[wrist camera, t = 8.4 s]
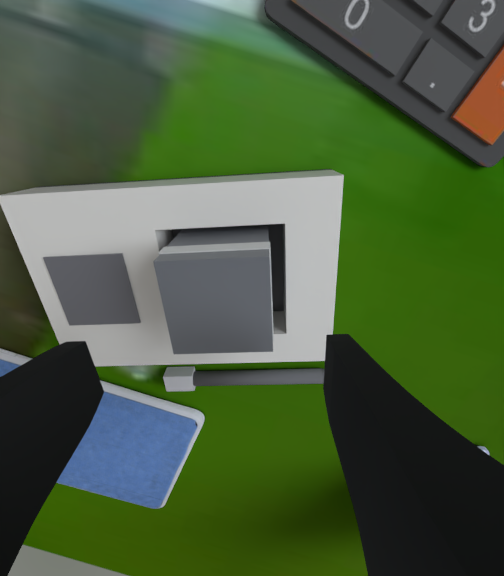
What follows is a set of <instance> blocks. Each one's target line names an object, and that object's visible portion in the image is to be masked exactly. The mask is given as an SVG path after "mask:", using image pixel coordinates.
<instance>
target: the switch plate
mask: <svg viewBox="0 0 504 576" xmlns="http://www.w3.org/2000/svg"><path fill="white" fill-rule="evenodd" d="M343 179H344V175H342V174H340V173H338V172H336V171H334V170H331V169H322V170H306V171H289V172H273V173H257V174H240V175H224V176H207V177H191V178H175V179H158V180H142V181H125V182H109V183H93V184H76V185H60V186H43V187H36V188H31V189H27V190H22V191H17V192H13V193H8V194H3V195H0V204H1V207H2V209H3V211H4V214H5V216H6V218H7V221H8V223H9V226H10V228H11V230H12V233H13V235H14V237H15V240H16V242H17V245H18V247H19V249H20V252H21V254H22V256H23V259H24V261H25V264H26V266H27V268H28V271H29V273H30V275H31V278H32V280H33V282H34V285H35V287H36V290H37V292H38V294H39V297H40V299H41V301H42V304H43V306H44V309H45V311H46V313H47V316H48V318H49V320H50V323H51V325H52V328H53V330H54V332H55V335H56V337H57V339H58V342H59V344H62V343H64V342H70V341H86V344H87V346H88V349H89V352H90V355H91V357H92V360H93V363H94V365H95V366H129V365H172V364H214V363H256V362H299V361H325V352H326V335H333V322H334V308H335V294H336V279H337V265H338V250H339V236H340V222H341V207H342V193H343ZM266 224H268V234H269V242H270V247H271V275H272V302H273V329H274V341H273V352H243V353H205V354H174V353H173V349H172V344H171V340H170V335H169V331H168V326H167V322H166V317H165V313H164V308H163V304H162V299H161V295H160V290H159V286H158V281H157V277H156V272H155V268H154V263H153V261H154V260H155V259H156V258H157V257H158V256H159V254H158V253H159V252H160V250H161V249H162V248H163V247H167V246H168V245H169V243H170V242H171V241H172V240H173V239H174V238H175V237H176V236H177V235H178V233H179V232H180V231H181V230H182V229H187V228H207V227H226V226H246V225H266Z"/></svg>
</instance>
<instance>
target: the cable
mask: <svg viewBox="0 0 504 576" xmlns="http://www.w3.org/2000/svg"><path fill="white" fill-rule="evenodd" d="M324 370H325V369H321V368H319V369H273V370H228V371H195V366H192V367H167V369H166V371H165V373H164V376H163V379H164V383H165V387H166V391H195V387H196V386H218V385H270V384H322V383H324Z"/></svg>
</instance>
